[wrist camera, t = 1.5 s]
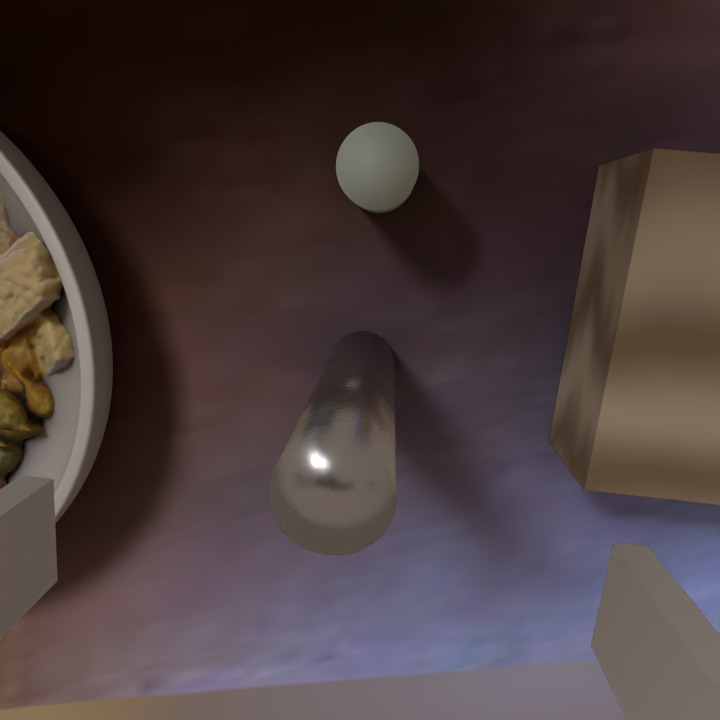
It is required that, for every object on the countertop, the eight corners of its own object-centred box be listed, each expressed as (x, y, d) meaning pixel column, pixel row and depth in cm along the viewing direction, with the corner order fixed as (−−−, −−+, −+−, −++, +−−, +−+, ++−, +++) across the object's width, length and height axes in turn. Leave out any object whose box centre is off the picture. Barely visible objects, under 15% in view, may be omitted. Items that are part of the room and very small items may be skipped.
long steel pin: (333, 328, 31) (271, 430, 15) (398, 334, 30) (402, 444, 15) (328, 390, 31) (265, 547, 16) (391, 396, 31) (389, 561, 16)
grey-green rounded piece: (348, 137, 28) (339, 118, 23) (418, 143, 28) (423, 125, 23) (343, 210, 29) (332, 205, 24) (410, 216, 29) (414, 213, 24)
